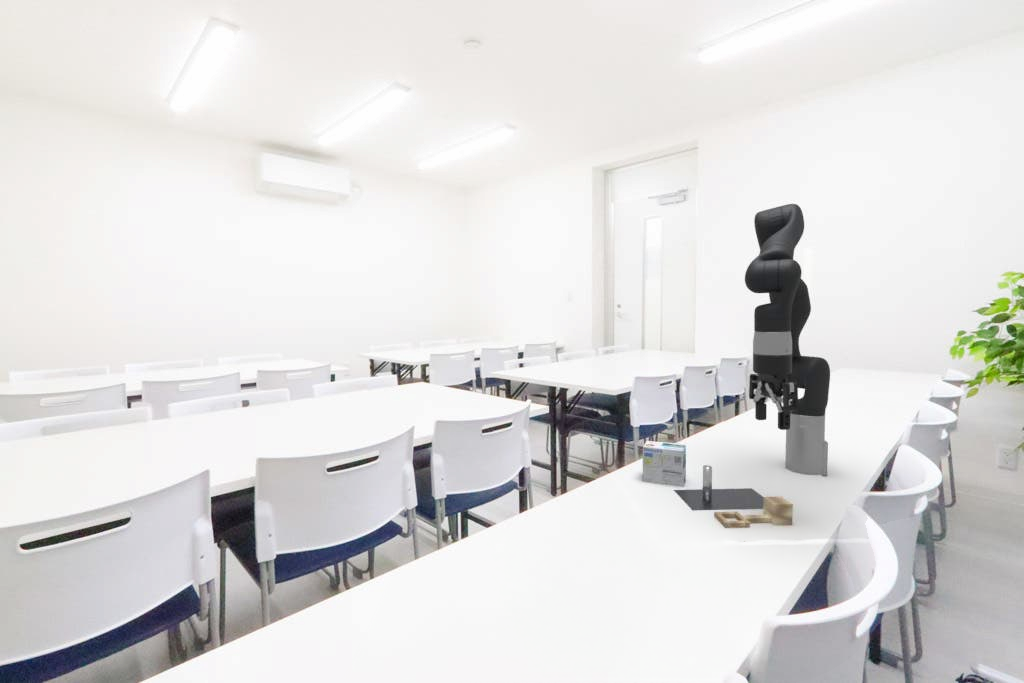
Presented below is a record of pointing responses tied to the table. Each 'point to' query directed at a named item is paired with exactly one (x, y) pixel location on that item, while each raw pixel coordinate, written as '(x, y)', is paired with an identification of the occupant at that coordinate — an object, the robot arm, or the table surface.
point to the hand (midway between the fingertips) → (771, 424)
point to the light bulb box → (664, 463)
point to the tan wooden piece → (773, 512)
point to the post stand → (720, 496)
